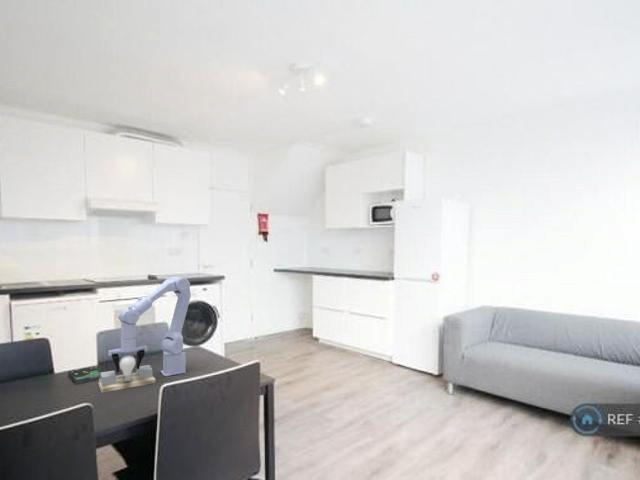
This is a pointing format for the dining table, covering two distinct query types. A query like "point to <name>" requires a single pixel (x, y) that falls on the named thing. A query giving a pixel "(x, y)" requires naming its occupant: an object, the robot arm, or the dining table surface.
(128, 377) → the lightbulb
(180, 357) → the robot arm
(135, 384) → the rail board
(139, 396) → the dining table surface
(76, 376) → the disk drive
